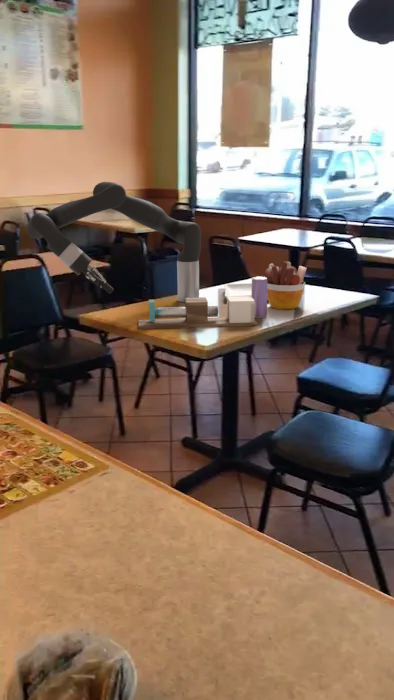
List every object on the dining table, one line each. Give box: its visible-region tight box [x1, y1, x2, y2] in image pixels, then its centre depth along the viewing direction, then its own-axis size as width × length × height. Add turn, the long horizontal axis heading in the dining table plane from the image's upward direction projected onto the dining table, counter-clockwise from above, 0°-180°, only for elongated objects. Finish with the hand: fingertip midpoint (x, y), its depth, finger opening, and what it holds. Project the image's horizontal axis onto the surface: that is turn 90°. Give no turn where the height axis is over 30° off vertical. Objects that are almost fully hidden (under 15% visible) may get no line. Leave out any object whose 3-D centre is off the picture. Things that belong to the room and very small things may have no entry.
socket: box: [226, 296, 255, 323], centre depth 234 cm, size 9×9×8 cm
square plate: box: [224, 282, 269, 303], centre depth 281 cm, size 27×27×4 cm
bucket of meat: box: [264, 261, 307, 311], centre depth 257 cm, size 20×16×20 cm
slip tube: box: [148, 299, 219, 321], centre depth 232 cm, size 25×5×7 cm, turn 94°
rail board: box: [138, 296, 258, 330], centre depth 233 cm, size 10×43×9 cm, turn 94°
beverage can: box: [251, 276, 268, 319], centre depth 242 cm, size 6×6×15 cm
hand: (111, 291), depth 229 cm, fingers closed
